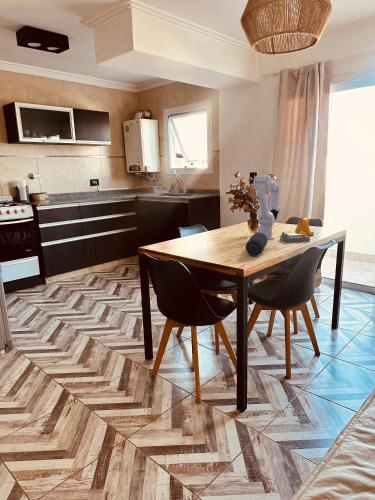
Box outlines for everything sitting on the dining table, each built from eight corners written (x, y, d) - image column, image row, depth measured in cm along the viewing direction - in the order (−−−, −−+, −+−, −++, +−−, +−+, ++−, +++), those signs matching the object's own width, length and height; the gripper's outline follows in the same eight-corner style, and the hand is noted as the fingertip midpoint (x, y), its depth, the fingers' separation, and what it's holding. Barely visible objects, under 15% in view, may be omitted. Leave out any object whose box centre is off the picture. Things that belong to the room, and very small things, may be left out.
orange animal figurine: (314, 235, 241) (315, 218, 239) (308, 236, 237) (309, 219, 234) (300, 233, 250) (301, 216, 247) (295, 234, 245) (295, 218, 242)
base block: (286, 242, 222) (286, 234, 220) (280, 239, 231) (280, 231, 230) (309, 241, 223) (310, 233, 222) (302, 238, 233) (303, 230, 232)
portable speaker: (252, 246, 216) (252, 231, 213) (268, 247, 212) (268, 231, 210) (244, 257, 193) (244, 239, 191) (262, 258, 190) (262, 240, 187)
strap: (284, 236, 224) (284, 235, 224) (282, 236, 227) (282, 234, 227) (304, 235, 226) (304, 234, 225) (302, 235, 229) (302, 233, 228)
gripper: (284, 201, 238) (283, 221, 241) (276, 199, 252) (276, 218, 255) (274, 202, 237) (273, 221, 240) (267, 200, 251) (266, 218, 254)
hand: (274, 219), depth 247 cm, fingers closed
